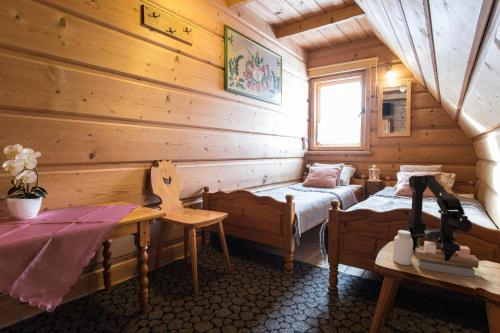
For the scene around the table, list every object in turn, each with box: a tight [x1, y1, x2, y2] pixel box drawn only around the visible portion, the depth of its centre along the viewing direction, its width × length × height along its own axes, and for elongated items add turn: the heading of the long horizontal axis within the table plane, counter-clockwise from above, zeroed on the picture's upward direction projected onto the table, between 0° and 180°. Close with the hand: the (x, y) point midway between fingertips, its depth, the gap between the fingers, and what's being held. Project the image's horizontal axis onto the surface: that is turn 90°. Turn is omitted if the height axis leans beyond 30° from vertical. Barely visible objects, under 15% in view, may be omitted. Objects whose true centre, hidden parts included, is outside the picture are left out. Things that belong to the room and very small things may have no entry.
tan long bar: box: [414, 247, 480, 269], centre depth 128 cm, size 6×23×4 cm, turn 67°
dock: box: [417, 259, 475, 278], centre depth 129 cm, size 8×20×3 cm, turn 67°
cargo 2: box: [455, 245, 471, 258], centre depth 125 cm, size 4×4×4 cm
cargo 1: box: [423, 240, 437, 254], centre depth 130 cm, size 4×4×4 cm
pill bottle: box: [392, 229, 414, 266], centre depth 135 cm, size 8×8×15 cm
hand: (445, 258), depth 128 cm, fingers closed on tan long bar, 5 cm apart
